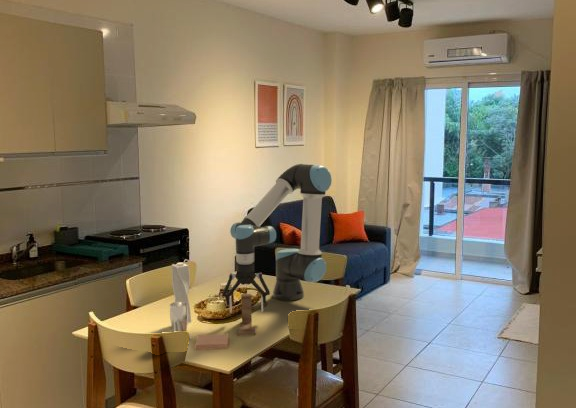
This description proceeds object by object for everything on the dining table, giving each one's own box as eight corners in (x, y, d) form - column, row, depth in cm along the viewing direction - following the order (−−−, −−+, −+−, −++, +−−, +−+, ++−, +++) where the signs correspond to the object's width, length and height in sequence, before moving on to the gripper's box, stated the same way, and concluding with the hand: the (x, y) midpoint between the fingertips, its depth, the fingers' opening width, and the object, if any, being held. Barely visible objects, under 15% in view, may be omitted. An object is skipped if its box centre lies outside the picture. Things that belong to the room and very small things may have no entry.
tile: (228, 333, 222) (227, 343, 212) (228, 339, 222) (227, 349, 212) (198, 335, 221) (195, 344, 211) (198, 340, 222) (195, 350, 212)
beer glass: (167, 340, 220) (165, 304, 218) (182, 336, 225) (181, 300, 223) (177, 345, 215) (175, 308, 213) (192, 340, 220) (191, 303, 218)
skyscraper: (195, 321, 242) (192, 257, 237) (188, 327, 234) (186, 262, 230) (178, 320, 243) (175, 257, 239) (171, 326, 236) (168, 261, 232)
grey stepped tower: (238, 321, 240) (238, 294, 238) (255, 321, 241) (254, 293, 239) (237, 335, 224) (236, 306, 223) (255, 335, 225) (254, 305, 223)
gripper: (215, 265, 230) (216, 315, 233) (275, 263, 232) (276, 313, 235) (216, 261, 238) (217, 309, 241) (274, 259, 239) (275, 307, 242)
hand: (246, 311), depth 238 cm, fingers open, 13 cm apart
